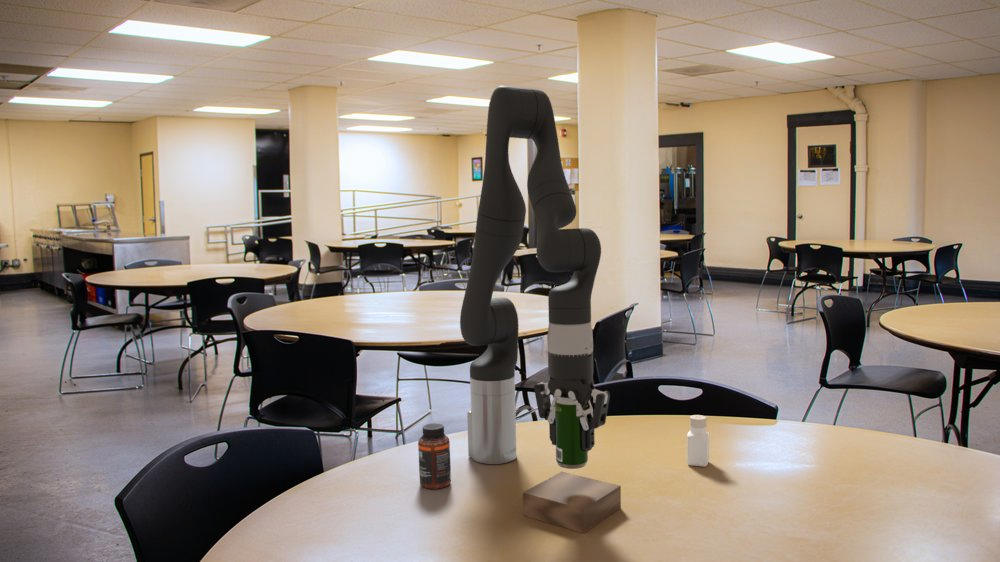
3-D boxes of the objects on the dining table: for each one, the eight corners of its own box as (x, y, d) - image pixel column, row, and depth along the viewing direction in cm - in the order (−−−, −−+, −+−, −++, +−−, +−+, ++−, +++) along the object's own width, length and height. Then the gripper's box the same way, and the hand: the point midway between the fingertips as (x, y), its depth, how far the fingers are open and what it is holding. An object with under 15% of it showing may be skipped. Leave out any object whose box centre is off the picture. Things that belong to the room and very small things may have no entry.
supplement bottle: (456, 481, 144) (455, 423, 142) (441, 492, 138) (439, 432, 137) (429, 476, 146) (427, 420, 145) (413, 487, 141) (411, 428, 140)
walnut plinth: (523, 515, 127) (522, 492, 127) (562, 492, 137) (561, 471, 136) (584, 533, 120) (583, 509, 119) (620, 508, 129) (620, 485, 129)
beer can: (569, 471, 124) (568, 400, 122) (549, 462, 128) (548, 394, 127) (594, 464, 127) (593, 395, 125) (574, 456, 131) (573, 389, 130)
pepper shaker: (686, 465, 149) (686, 419, 148) (689, 459, 153) (689, 413, 152) (707, 468, 147) (707, 420, 146) (709, 461, 151) (709, 415, 150)
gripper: (522, 348, 127) (524, 445, 129) (596, 357, 118) (597, 461, 120) (547, 341, 133) (549, 434, 134) (619, 349, 124) (620, 448, 126)
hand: (571, 446), depth 127 cm, fingers closed on beer can, 5 cm apart
